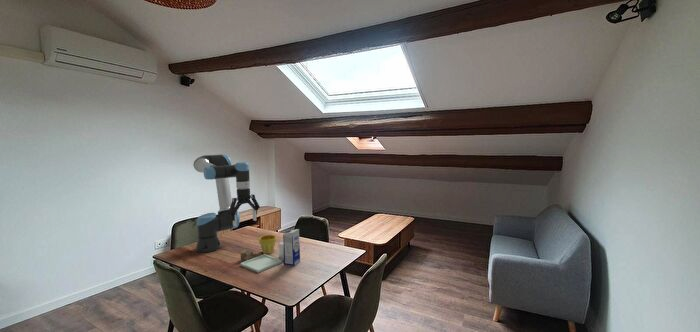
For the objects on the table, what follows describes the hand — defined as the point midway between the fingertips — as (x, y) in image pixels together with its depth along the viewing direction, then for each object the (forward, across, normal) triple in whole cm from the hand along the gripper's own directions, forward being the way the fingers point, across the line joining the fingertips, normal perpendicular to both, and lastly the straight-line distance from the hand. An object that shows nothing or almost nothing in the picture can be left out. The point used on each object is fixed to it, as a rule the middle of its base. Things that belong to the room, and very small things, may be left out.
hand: (245, 223), depth 175 cm
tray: (+23, +1, -13) cm, 26 cm away
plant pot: (+23, +15, -1) cm, 27 cm away
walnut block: (+23, 0, 0) cm, 23 cm away
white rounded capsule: (+23, +15, -17) cm, 32 cm away
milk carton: (+23, +12, -27) cm, 37 cm away
